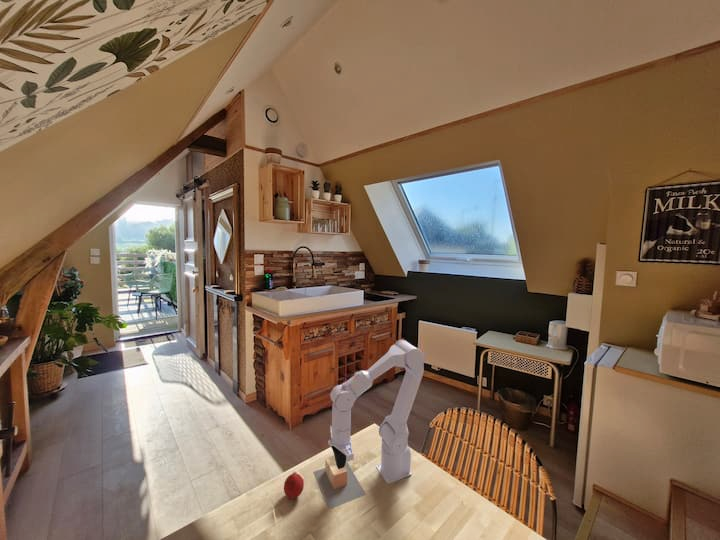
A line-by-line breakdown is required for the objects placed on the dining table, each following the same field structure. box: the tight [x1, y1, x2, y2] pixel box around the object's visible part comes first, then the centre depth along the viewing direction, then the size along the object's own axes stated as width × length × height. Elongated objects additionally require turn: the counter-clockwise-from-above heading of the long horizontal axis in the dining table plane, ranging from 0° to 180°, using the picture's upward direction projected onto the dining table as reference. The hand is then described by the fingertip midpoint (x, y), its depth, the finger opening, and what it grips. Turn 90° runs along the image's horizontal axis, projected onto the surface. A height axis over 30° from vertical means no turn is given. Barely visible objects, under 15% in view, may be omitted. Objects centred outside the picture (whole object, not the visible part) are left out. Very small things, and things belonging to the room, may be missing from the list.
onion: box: [283, 470, 305, 500], centre depth 87 cm, size 6×6×8 cm
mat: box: [313, 460, 367, 510], centre depth 92 cm, size 12×15×1 cm
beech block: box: [324, 455, 347, 489], centre depth 94 cm, size 4×4×8 cm
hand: (340, 466), depth 90 cm, fingers closed
